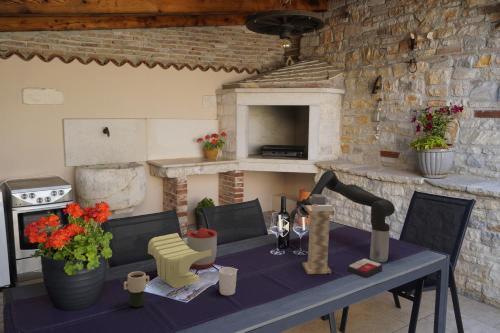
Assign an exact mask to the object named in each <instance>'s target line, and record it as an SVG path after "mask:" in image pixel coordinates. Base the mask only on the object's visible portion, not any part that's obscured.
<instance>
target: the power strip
mask: <svg viewBox="0 0 500 333" xmlns="http://www.w3.org/2000/svg"><path fill="white" fill-rule="evenodd" d="M311 210H312V211H333V210H334V206H333V205H332V204H326V205H317V204H313V205H312V209H311Z"/></svg>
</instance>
